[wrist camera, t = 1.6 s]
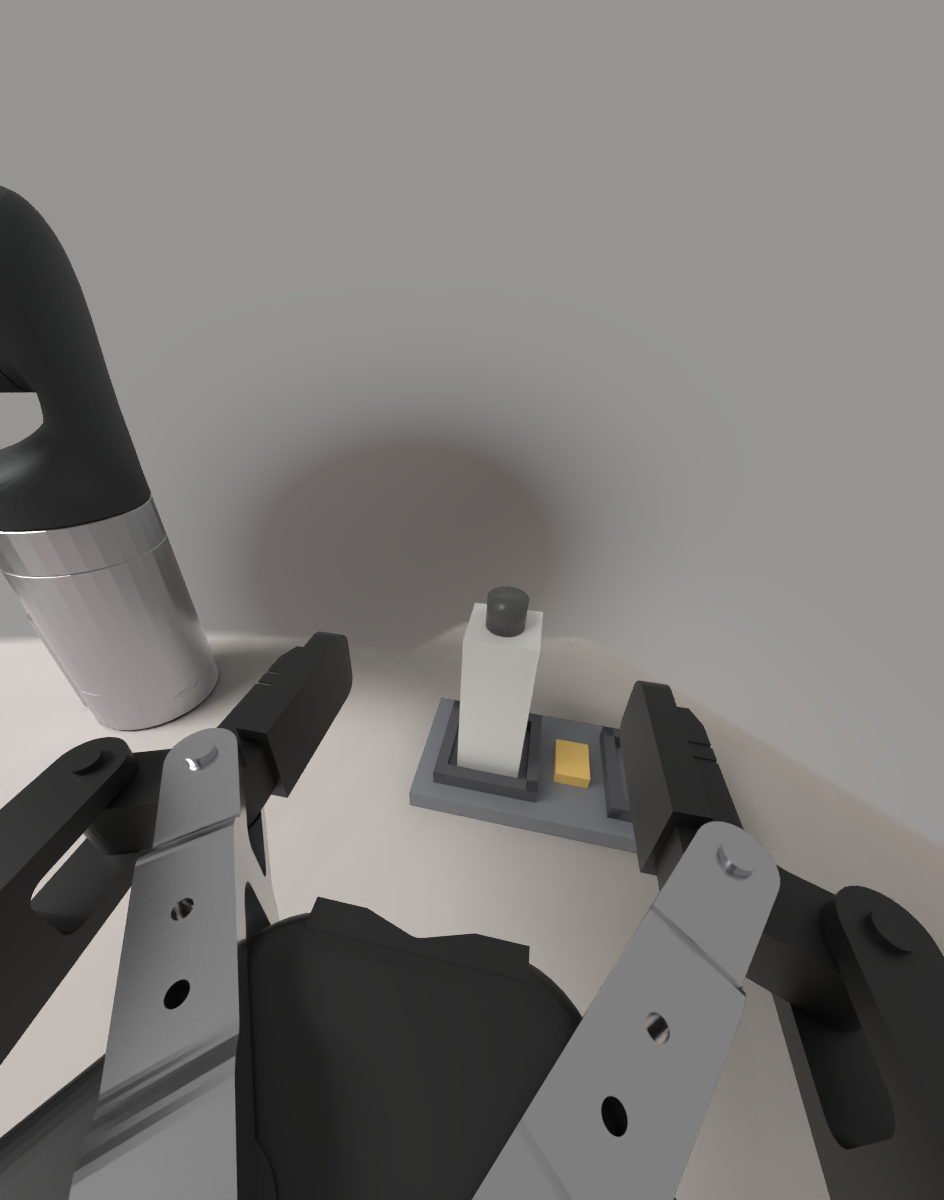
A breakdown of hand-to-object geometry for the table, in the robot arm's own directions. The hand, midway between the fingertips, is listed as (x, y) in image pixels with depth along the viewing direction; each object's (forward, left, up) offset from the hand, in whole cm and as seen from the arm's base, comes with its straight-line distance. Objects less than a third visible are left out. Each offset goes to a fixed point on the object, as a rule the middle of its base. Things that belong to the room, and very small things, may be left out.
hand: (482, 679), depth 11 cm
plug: (0, +12, -19) cm, 22 cm away
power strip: (+6, +12, -20) cm, 24 cm away
